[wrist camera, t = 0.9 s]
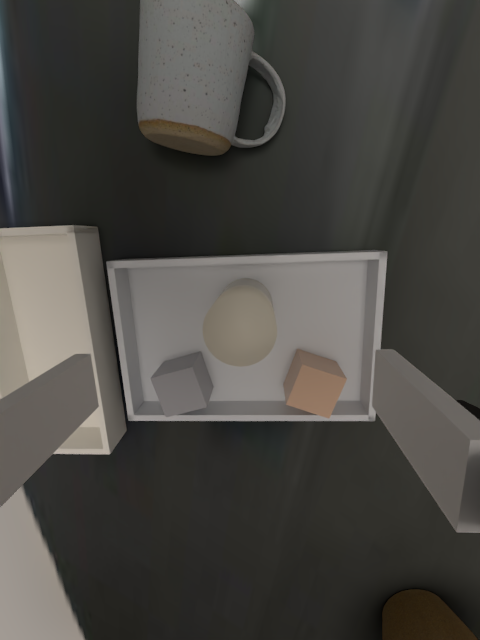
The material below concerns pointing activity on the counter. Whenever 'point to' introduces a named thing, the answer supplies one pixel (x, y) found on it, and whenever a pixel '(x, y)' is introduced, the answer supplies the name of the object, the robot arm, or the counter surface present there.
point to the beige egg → (241, 324)
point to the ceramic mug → (198, 75)
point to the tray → (291, 319)
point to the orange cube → (313, 383)
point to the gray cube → (183, 384)
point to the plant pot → (421, 618)
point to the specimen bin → (59, 321)
